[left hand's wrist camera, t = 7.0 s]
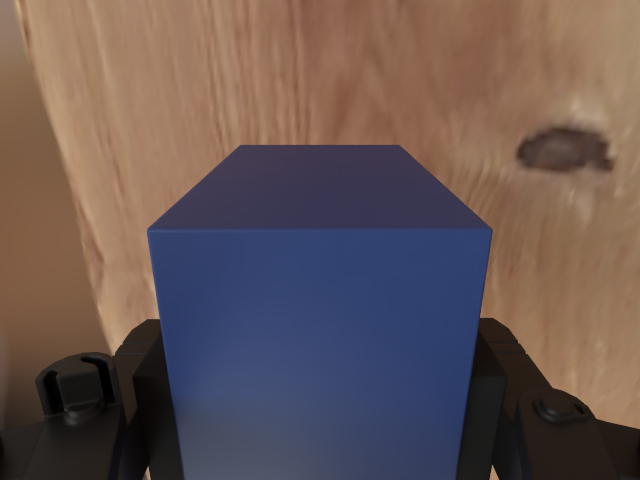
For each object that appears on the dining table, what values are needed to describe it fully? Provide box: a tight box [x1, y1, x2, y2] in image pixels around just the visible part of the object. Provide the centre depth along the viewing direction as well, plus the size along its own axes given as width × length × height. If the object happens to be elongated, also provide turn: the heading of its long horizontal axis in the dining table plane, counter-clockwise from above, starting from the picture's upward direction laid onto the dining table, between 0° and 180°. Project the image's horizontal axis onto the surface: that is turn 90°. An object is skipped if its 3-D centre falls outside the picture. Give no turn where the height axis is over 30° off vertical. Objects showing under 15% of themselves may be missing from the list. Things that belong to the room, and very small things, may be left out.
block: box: [147, 145, 493, 480], centre depth 12 cm, size 5×8×9 cm, turn 0°
